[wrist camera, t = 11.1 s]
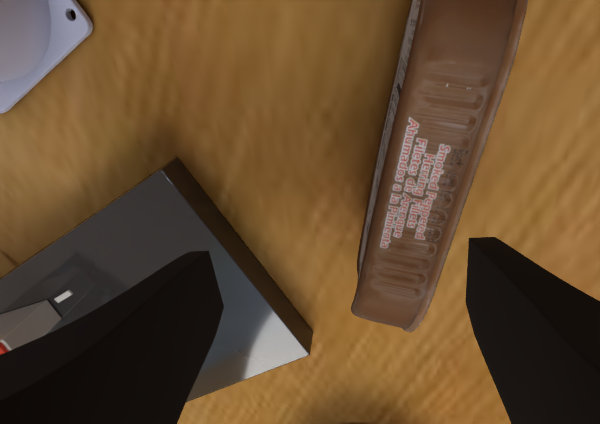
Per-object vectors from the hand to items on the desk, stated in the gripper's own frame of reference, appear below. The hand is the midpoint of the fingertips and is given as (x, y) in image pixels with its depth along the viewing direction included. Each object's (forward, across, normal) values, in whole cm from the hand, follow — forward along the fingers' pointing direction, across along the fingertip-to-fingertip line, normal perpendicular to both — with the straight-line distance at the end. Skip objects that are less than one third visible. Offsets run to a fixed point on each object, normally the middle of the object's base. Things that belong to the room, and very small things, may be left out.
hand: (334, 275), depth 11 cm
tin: (+11, -3, -1) cm, 11 cm away
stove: (+10, +14, +9) cm, 20 cm away
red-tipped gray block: (+8, +21, +8) cm, 24 cm away
